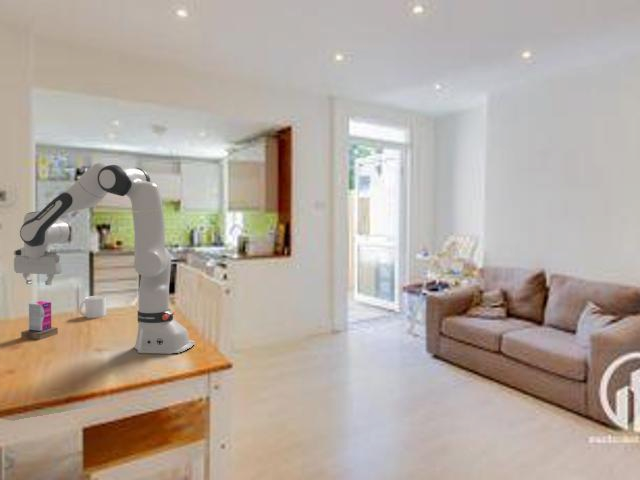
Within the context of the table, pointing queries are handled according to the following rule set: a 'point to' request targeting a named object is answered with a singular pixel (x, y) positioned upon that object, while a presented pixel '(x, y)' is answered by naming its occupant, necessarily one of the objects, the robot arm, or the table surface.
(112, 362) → the table surface
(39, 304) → the supplement box
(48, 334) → the base slab
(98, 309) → the mug
